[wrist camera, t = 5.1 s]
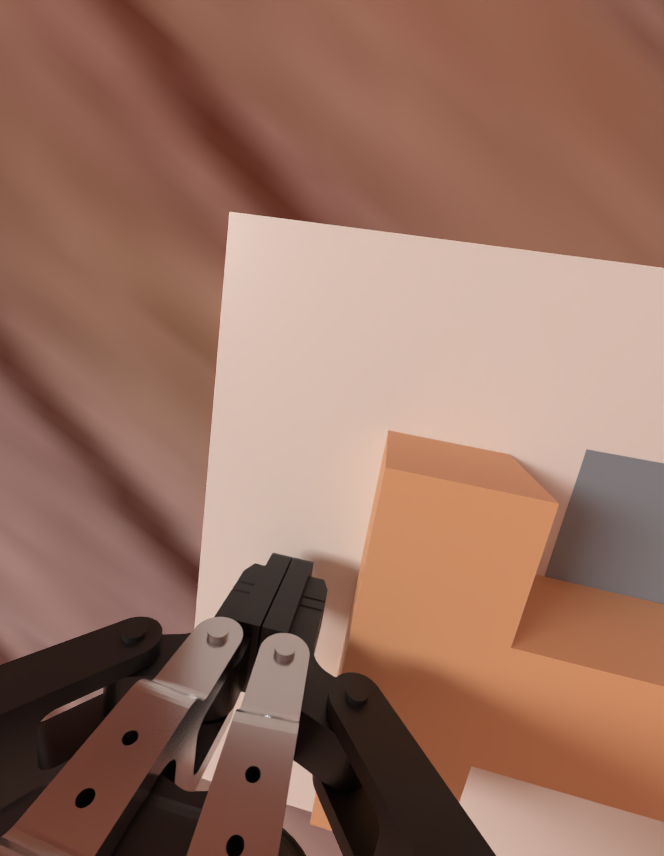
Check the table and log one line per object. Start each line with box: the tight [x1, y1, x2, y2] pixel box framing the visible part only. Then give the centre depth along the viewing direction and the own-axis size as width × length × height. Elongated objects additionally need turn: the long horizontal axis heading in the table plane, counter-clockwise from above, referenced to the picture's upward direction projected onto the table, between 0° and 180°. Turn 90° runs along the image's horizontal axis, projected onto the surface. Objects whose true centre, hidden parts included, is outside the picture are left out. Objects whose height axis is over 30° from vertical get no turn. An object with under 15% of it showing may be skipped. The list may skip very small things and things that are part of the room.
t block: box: [310, 430, 664, 831], centre depth 12 cm, size 12×12×4 cm
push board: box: [195, 212, 664, 856], centre depth 14 cm, size 30×24×1 cm
